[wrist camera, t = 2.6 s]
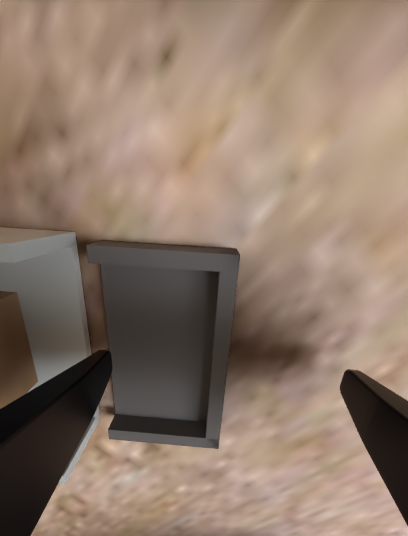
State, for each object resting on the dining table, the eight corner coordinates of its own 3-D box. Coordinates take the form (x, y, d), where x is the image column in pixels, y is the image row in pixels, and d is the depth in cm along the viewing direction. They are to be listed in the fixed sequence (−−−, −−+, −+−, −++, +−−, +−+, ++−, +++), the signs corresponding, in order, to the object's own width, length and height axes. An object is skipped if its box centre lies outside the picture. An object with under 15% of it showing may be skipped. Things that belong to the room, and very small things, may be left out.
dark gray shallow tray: (236, 248, 7) (240, 255, 6) (217, 425, 10) (218, 448, 9) (102, 240, 7) (86, 245, 6) (119, 417, 10) (109, 439, 9)
